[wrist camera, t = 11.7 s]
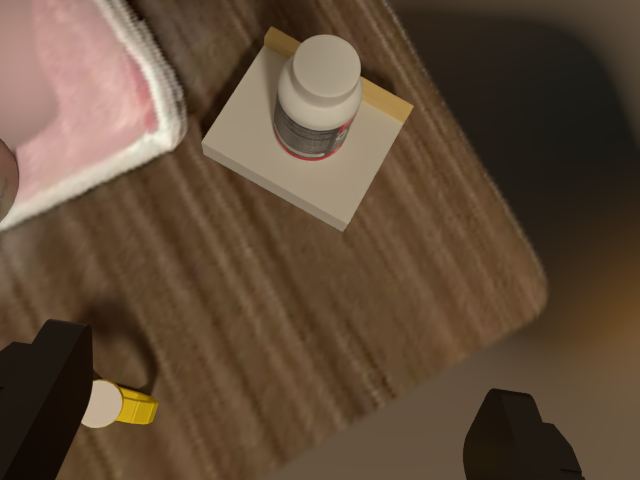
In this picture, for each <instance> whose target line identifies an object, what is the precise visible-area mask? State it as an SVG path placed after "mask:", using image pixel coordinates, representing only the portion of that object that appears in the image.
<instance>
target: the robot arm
mask: <svg viewBox="0 0 640 480" xmlns="http://www.w3.org/2000/svg"><path fill="white" fill-rule="evenodd" d="M18 179H19V176H18V170H17V164H16V162H15V159H14V157H13V155H12V152H11V151H10V150H9V148H8V147H7V146H6V144H5V143H4V142H3V141H2V140H1V139H0V222H1V221H2V220H3V219H4V217H5V216H6V215H7V214H8V212H9V210H10V208H11V207H12V205H13V203H14V200H15V197H16V194H17V190H18ZM92 387H93V348H92V328H91V326H90V325H88V324H81V323H75V322H68V321H62V320H55V319H49V320H47V321H46V322H45V324H44V325H43V327H42V328H41V330H40V331H39V333H38V335H37V336H36V338H35V339H34V341H33V342H32V344H26V343H20V342H12V343H11V344H10V345H8V346H7V347H5V348H4V349H3V350H1V351H0V480H55V479H56V477H57V474H58V472H59V470H60V468H61V466H62V463H63V461H64V459H65V457H66V455H67V452H68V450H69V448H70V446H71V443H72V441H73V439H74V437H75V435H76V432H77V430H78V428H79V426H80V424H81V421H82V419H83V417H84V415H85V412H86V410H87V407H88V404H89V401H90V397H91V393H92ZM463 463H464V470H465V474H466V479H467V480H585V478H584V477H582V475H581V474H582V471H581V468H580V466H579V463H578V461H577V458H576V456H575V453H574V451H573V448H572V447H571V445H570V444H569V443H568V442H567V440H566V439H565V438H564V437H563V435H562V434H561V433H560V432H559V430H558V429H557V428H556V427H555V426H554V424H550V423H543V422H542V419H541V416H540V414H539V411H538V408H537V406H536V403H535V401H534V399H533V397H532V396H531V395H530V394H527V393H521V392H514V391H508V390H501V389H494V388H493V389H491V390H490V391H489V392H488V393H487V395H486V397H485V399H484V401H483V403H482V405H481V407H480V409H479V411H478V413H477V415H476V417H475V420H474V422H473V423H472V425H471V427H470V430H469V431H468V433H467V436H466V438H465V442H464V448H463Z"/></svg>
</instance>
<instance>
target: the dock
mask: <svg viewBox="0 0 640 480" xmlns="http://www.w3.org/2000/svg"><path fill="white" fill-rule="evenodd" d="M300 45H301V42H299V41H297V40H295V39H294V38H292V37H290V36H288V35H286V34H285V33H283V32H281V31H279V30H278V29H276V28H274V27H272V26H271V27H270V29H269V30H268V32H267V33H266V35H265V36H264V46H263V47H262V49H261V51H260V52H259V54H258V55H257V57H256V58H255V60H254V61H253V63H252V65H251V66H250V68H249V69H248V71H247V72H246V74H245V75H244V77H243V78H242V80H241V82H240V83H239V85H238V86H237V88H236V89H235V91H234V92H233V94H232V96H231V97H230V99H229V100H228V102H227V103H226V105H225V106H224V108H223V110H222V111H221V113H220V114H219V116H218V117H217V119H216V120H215V122H214V123H213V125H212V127H211V128H210V130H209V131H208V133H207V134H206V136H205V137H204V139H203V141H202V142H201V143H202V147H203V152H204V155H206V156H208V157H210V158H212V159H213V160H215V161H217V162H219V163H220V164H222V165H224V166H226V167H228V168H229V169H231V170H233V171H235V172H236V173H238V174H240V175H242V176H244V177H245V178H247V179H249V180H251V181H253V182H254V183H256V184H258V185H260V186H261V187H263V188H265V189H267V190H269V191H270V192H272V193H274V194H276V195H277V196H279V197H281V198H283V199H285V200H286V201H288V202H290V203H292V204H294V205H295V206H297V207H299V208H301V209H302V210H304V211H306V212H308V213H310V214H311V215H313V216H315V217H317V218H319V219H320V220H322V221H324V222H326V223H327V224H329V225H331V226H333V227H335V228H336V229H338V230H340V231H342V232H343V231H344V229H345V228H346V227H347V225H348V224H349V222H350V220H351V218H352V216H353V215H354V213H355V211H356V209H357V207H358V205H359V204H360V202H361V200H362V198H363V196H364V195H365V193H366V191H367V189H368V187H369V185H370V184H371V182H372V180H373V178H374V176H375V175H376V173H377V171H378V169H379V167H380V165H381V164H382V162H383V160H384V158H385V156H386V155H387V153H388V151H389V149H390V147H391V145H392V144H393V142H394V140H395V138H396V136H397V135H398V133H399V131H400V129H401V127H402V125H403V124H404V122H405V121H406V119H407V117H408V116H409V114H410V112H411V110H412V108H413V107H414V106H413V105H411V104H409V103H407V102H406V101H404V100H402V99H400V98H398V97H397V96H395V95H393V94H391V93H390V92H388V91H386V90H384V89H382V88H381V87H379V86H377V85H375V84H374V83H372V82H370V81H368V80H366V79H365V78H363V77H361V76H360V77H361V80H362V86H363V96H362V101H361V104H360V107H359V109H358V111H357V114H356V116H355V118H354V120H353V122H352V125H351V127H350V129H349V132H348V134H347V137H346V139H345V141H344V143H343V145H342V146H341V148H340V149H339V151H338V152H337V153H336V154H335V155H334V156H332V157H331V158H329V159H327V160H325V161H323V162H318V163H304V162H300V161H297V160H295V159H293V158H291V157H290V156H288V155H287V154H286V153H285V152H284V151H283V150H282V149H281V148H280V146H279V145H278V143H277V141H276V139H275V136H274V129H273V124H274V113H275V104H276V95H277V83H278V78H279V74H280V71H281V69H282V67H283V66H284V64H285V63H286V62H287V60H288V59H289V58H290V57H292V56H293V55H294V54H295V52H296V50H297V48H298V47H299V46H300Z"/></svg>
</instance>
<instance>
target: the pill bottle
mask: <svg viewBox="0 0 640 480" xmlns="http://www.w3.org/2000/svg"><path fill="white" fill-rule="evenodd" d="M360 73H361V64H360V60H359V57H358V54H357V52H356V51H355V49H354V48H353V47H352V46H351V45H350V44H349V43H348V42H346V41H345V40H343V39H341V38H339V37H337V36H333V35H316V36H313V37H310V38H308V39H307V40H305V41H304V42H303V43H301V45H300V46H299V47H298V48H297V50H296V52H295V54H294V55H293V56H292V57H290V58H289V59H288V60H287V62H286V63H285V64H284V66H283V67H282V69H281V71H280V74H279V78H278V83H277V95H276V104H275V113H274V124H273V129H274V136H275V139H276V141H277V143H278V145H279V146H280V148H281V149H282V150H283V151H284V152H285V153H286V154H287V155H288V156H290V157H291V158H293V159H295V160H297V161H300V162H304V163H318V162H323V161H325V160H327V159H329V158H331V157H332V156H334V155H335V154H336V153H337V152H338V151H339V149H340V148H341V146H342V145H343V143H344V141H345V139H346V137H347V134H348V132H349V129H350V127H351V125H352V122H353V120H354V118H355V116H356V114H357V111H358V109H359V107H360V104H361V101H362V96H363V86H362V80H361V77H360Z"/></svg>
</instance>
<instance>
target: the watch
mask: <svg viewBox="0 0 640 480" xmlns="http://www.w3.org/2000/svg"><path fill="white" fill-rule="evenodd" d="M158 404H159V402H158V401H157V400H156V399H155V398H153V397H151V396H148V395H146V394H143V393H141V392H136V391H132V390H129V389H125V388H122V387H119V386H118V385H117V384H116V383H114V382H112V381H110V380H106V379H98V380H93V387H92V393H91V397H90V401H89V404H88V407H87V410H86V412H85V415H84V417H83V419H82V421H81V423H82V424H84V425H86V426H88V427H91V428H100V427H105V426H107V425H109V424H111V423H112V422H114V421H115V420H117V421H123V422H128V423H136V424H148V423H151V422H153V419H154V416H155V413H156V410H157V407H158Z"/></svg>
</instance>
